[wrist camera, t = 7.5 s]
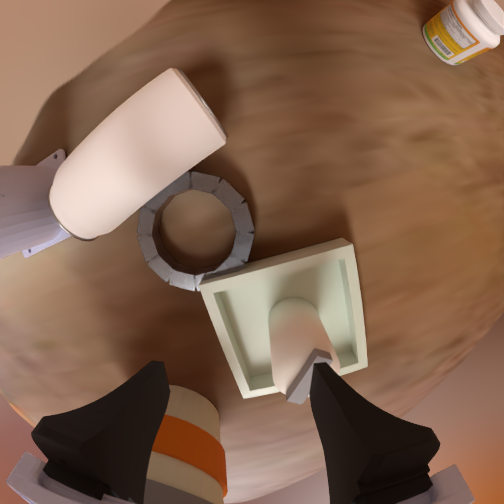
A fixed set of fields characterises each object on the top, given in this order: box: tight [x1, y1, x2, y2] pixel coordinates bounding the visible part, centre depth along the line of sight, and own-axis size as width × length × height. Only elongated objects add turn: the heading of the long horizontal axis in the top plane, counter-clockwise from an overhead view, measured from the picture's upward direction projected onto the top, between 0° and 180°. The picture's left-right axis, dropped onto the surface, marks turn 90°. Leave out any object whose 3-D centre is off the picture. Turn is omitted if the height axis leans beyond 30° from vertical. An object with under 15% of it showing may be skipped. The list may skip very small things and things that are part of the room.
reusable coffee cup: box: [144, 385, 228, 504], centre depth 18 cm, size 13×12×15 cm
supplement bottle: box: [423, 0, 504, 65], centre depth 11 cm, size 5×5×10 cm
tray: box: [199, 238, 368, 398], centre depth 21 cm, size 11×11×2 cm
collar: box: [137, 171, 255, 291], centre depth 19 cm, size 8×8×2 cm
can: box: [47, 68, 228, 241], centre depth 16 cm, size 6×6×12 cm
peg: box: [268, 297, 340, 405], centre depth 17 cm, size 4×4×8 cm
